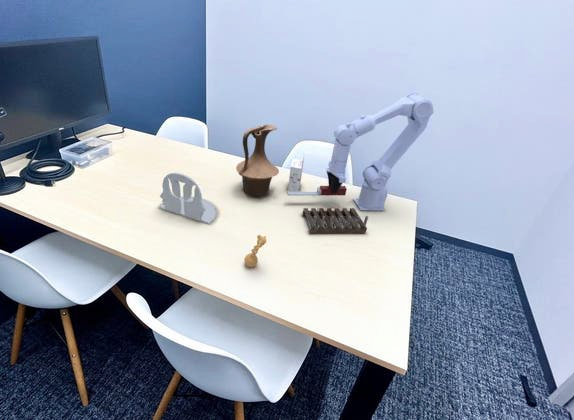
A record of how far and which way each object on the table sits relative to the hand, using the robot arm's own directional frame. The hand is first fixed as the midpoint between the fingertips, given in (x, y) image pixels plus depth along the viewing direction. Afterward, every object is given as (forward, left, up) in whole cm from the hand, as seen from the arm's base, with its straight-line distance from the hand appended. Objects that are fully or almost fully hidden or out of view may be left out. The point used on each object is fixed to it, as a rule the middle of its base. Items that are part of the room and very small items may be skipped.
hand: (332, 190), depth 130 cm
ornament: (+54, +3, -6) cm, 55 cm away
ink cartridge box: (+12, -13, -6) cm, 19 cm away
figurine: (+34, +36, -6) cm, 50 cm away
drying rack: (+3, +14, -6) cm, 15 cm away
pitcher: (+29, -10, -6) cm, 31 cm away
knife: (+6, 0, -1) cm, 7 cm away
